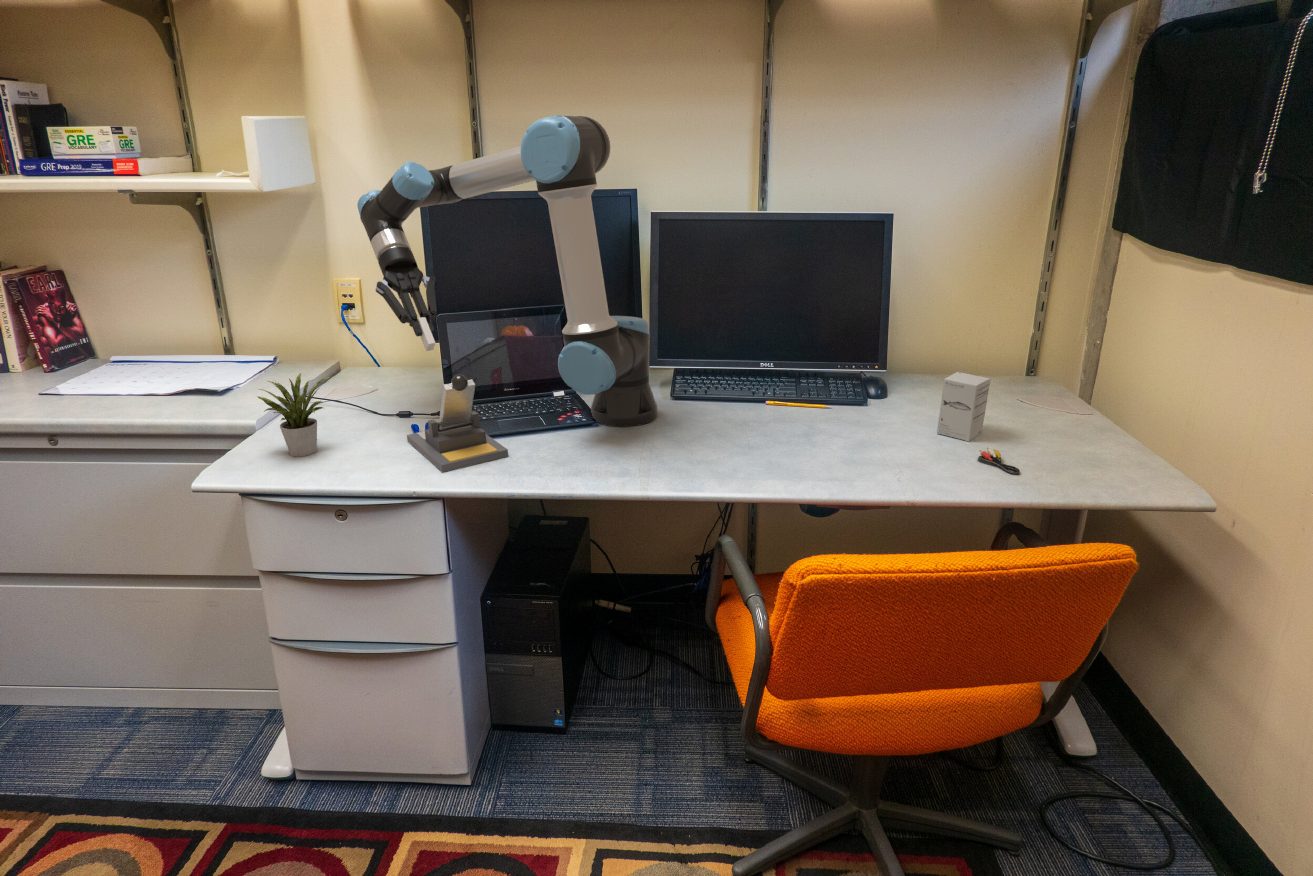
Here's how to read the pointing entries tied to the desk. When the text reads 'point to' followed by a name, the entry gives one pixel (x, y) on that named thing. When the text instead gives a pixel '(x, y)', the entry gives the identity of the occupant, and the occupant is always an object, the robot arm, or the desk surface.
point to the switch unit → (457, 445)
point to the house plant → (297, 417)
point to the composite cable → (996, 461)
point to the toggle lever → (456, 404)
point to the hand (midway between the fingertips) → (430, 346)
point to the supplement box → (963, 406)
